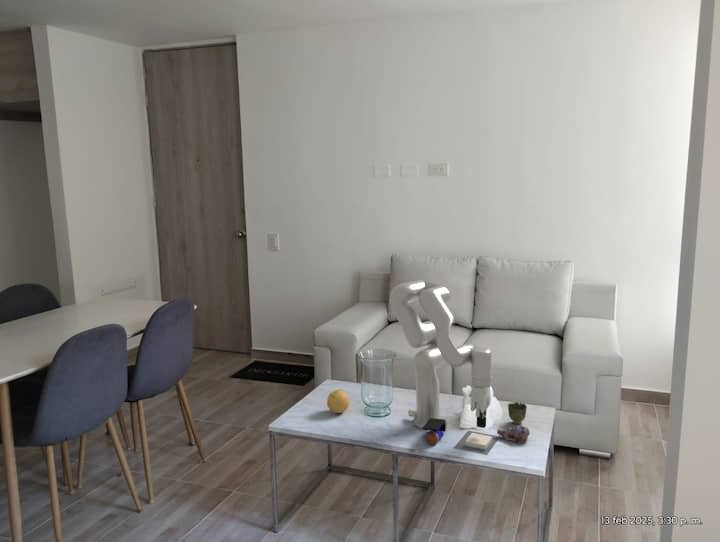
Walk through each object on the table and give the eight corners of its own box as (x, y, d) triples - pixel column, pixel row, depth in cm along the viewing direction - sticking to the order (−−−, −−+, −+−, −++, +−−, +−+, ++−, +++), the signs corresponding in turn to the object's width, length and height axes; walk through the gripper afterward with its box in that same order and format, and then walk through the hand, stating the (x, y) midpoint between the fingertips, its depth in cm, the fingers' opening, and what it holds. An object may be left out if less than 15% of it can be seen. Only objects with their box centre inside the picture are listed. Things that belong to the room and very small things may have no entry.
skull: (494, 438, 227) (496, 422, 226) (499, 433, 234) (502, 418, 233) (525, 446, 221) (527, 431, 221) (530, 441, 228) (532, 426, 227)
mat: (453, 448, 221) (453, 447, 221) (468, 431, 236) (468, 430, 236) (487, 456, 215) (487, 454, 215) (500, 437, 229) (500, 436, 229)
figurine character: (431, 433, 239) (421, 445, 224) (431, 414, 238) (421, 425, 224) (447, 435, 236) (438, 447, 222) (448, 416, 236) (439, 427, 222)
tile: (472, 437, 229) (465, 446, 222) (472, 432, 229) (465, 441, 222) (492, 441, 225) (485, 450, 218) (492, 436, 225) (485, 445, 218)
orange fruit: (351, 408, 263) (350, 386, 262) (348, 416, 254) (347, 394, 252) (329, 407, 265) (328, 386, 263) (325, 416, 255) (324, 394, 253)
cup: (507, 419, 246) (507, 401, 245) (525, 420, 244) (526, 402, 243) (508, 427, 239) (508, 408, 237) (527, 428, 237) (527, 409, 236)
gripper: (478, 373, 231) (478, 417, 234) (465, 385, 218) (465, 432, 221) (496, 376, 227) (496, 421, 230) (485, 388, 214) (484, 436, 217)
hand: (481, 426), depth 226 cm, fingers closed
